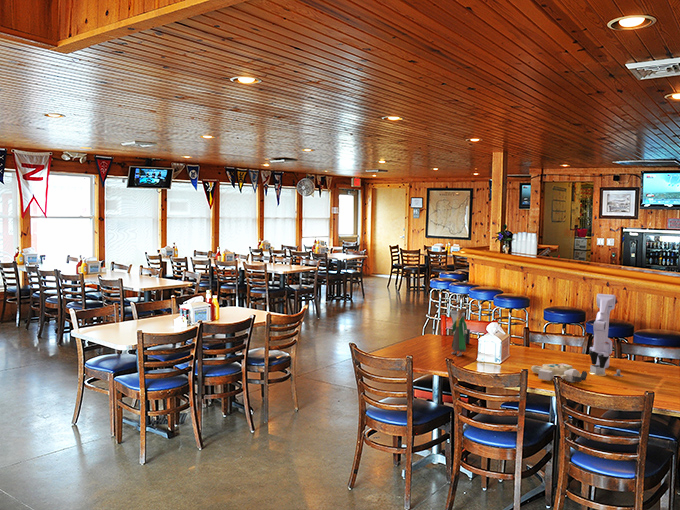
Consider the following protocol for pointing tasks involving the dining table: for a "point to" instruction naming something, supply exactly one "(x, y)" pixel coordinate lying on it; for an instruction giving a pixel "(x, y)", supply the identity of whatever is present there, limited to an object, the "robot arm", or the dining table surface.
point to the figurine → (459, 333)
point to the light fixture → (467, 338)
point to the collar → (597, 369)
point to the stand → (618, 374)
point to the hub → (598, 375)
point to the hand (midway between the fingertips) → (597, 366)
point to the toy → (559, 372)
